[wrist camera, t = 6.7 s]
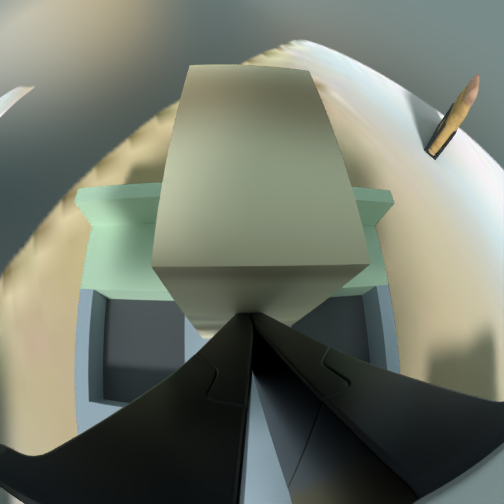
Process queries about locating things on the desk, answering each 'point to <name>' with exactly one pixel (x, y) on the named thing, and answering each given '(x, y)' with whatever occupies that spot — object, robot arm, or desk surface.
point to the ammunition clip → (453, 119)
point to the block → (254, 199)
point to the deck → (183, 332)
